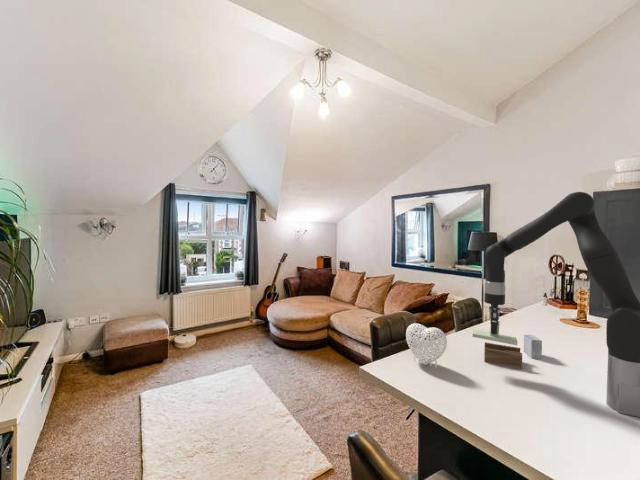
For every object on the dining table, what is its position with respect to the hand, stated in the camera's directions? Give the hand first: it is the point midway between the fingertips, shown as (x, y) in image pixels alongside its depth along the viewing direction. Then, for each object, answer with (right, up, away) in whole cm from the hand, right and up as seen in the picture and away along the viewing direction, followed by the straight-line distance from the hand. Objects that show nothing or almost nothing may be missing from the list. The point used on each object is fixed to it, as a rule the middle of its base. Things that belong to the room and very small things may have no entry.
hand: (493, 332), depth 126 cm
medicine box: (+28, -16, +16) cm, 36 cm away
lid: (0, -3, 0) cm, 3 cm away
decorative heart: (-27, -16, +6) cm, 32 cm away
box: (+9, -16, +9) cm, 20 cm away
